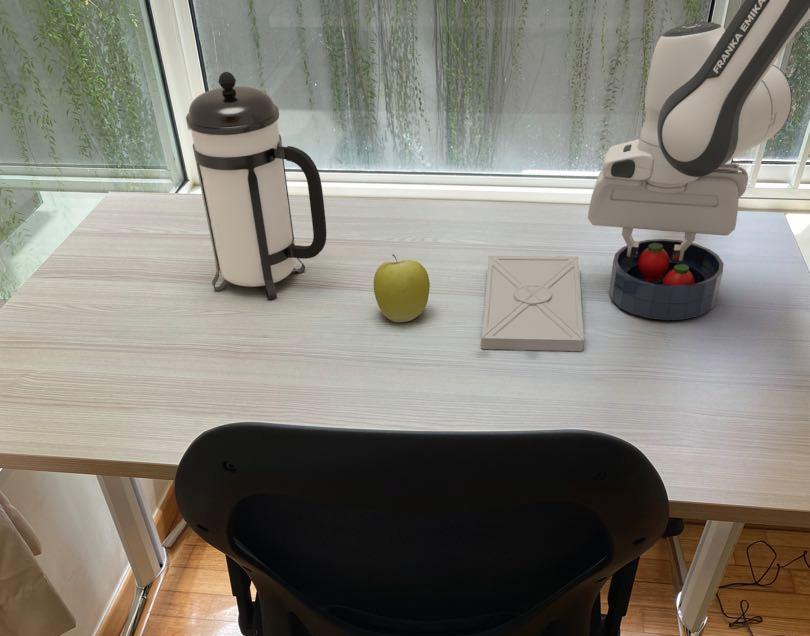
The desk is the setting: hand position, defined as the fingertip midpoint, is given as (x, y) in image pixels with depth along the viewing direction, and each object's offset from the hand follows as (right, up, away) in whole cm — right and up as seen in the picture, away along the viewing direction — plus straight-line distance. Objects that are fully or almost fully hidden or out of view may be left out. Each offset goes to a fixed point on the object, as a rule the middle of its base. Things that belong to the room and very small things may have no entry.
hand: (654, 257), depth 127 cm
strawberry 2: (0, -2, +2) cm, 3 cm away
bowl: (+2, -5, +2) cm, 6 cm away
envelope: (-18, -7, +1) cm, 19 cm away
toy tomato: (+3, -6, 0) cm, 7 cm away
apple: (-37, -8, +1) cm, 38 cm away
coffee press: (-58, 0, +11) cm, 59 cm away
